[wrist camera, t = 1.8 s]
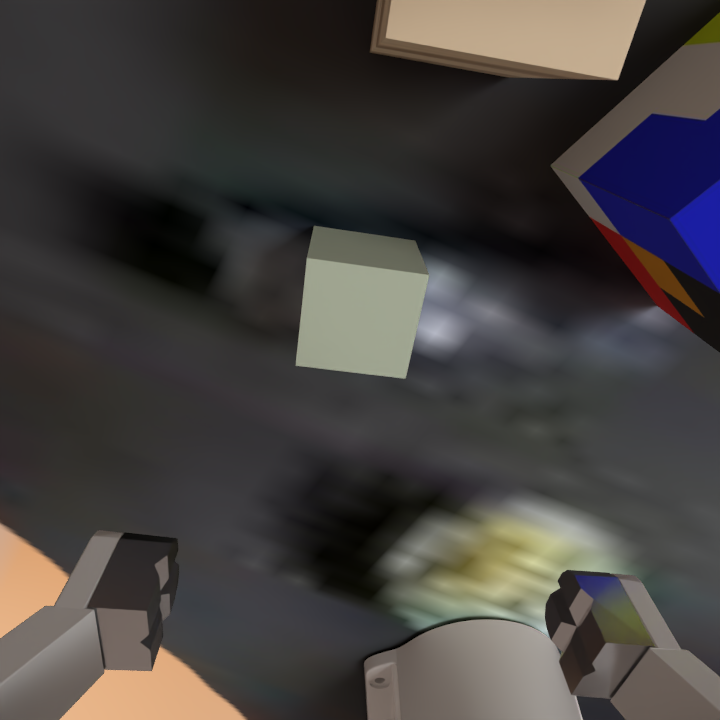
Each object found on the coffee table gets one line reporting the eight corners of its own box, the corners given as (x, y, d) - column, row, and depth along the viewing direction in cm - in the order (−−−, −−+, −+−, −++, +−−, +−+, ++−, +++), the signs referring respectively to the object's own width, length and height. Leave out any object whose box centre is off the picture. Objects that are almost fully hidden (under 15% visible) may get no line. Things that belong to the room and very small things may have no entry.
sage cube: (396, 330, 27) (405, 378, 23) (303, 318, 27) (295, 365, 23) (415, 240, 25) (429, 274, 21) (313, 225, 25) (307, 258, 20)
